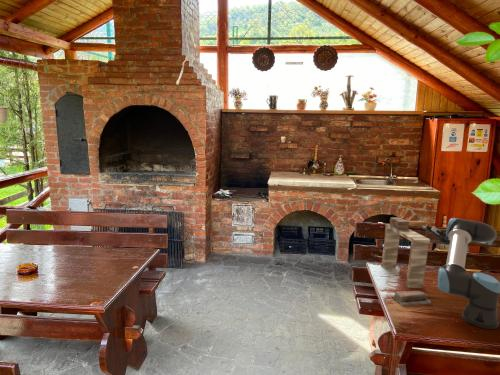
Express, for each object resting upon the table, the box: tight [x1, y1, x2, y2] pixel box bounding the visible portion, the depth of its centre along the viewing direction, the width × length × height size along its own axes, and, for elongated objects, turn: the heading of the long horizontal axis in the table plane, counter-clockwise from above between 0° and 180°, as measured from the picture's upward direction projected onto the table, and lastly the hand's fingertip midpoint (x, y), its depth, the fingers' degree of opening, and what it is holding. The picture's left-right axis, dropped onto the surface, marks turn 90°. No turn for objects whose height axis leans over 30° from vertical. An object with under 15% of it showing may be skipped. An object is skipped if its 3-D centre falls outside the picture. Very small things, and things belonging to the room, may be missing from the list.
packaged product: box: [391, 290, 432, 306], centre depth 190 cm, size 18×5×10 cm
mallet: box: [388, 216, 428, 229], centre depth 224 cm, size 10×22×5 cm, turn 98°
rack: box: [380, 223, 431, 289], centre depth 219 cm, size 32×10×30 cm, turn 8°
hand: (425, 224), depth 227 cm, fingers open, 13 cm apart
